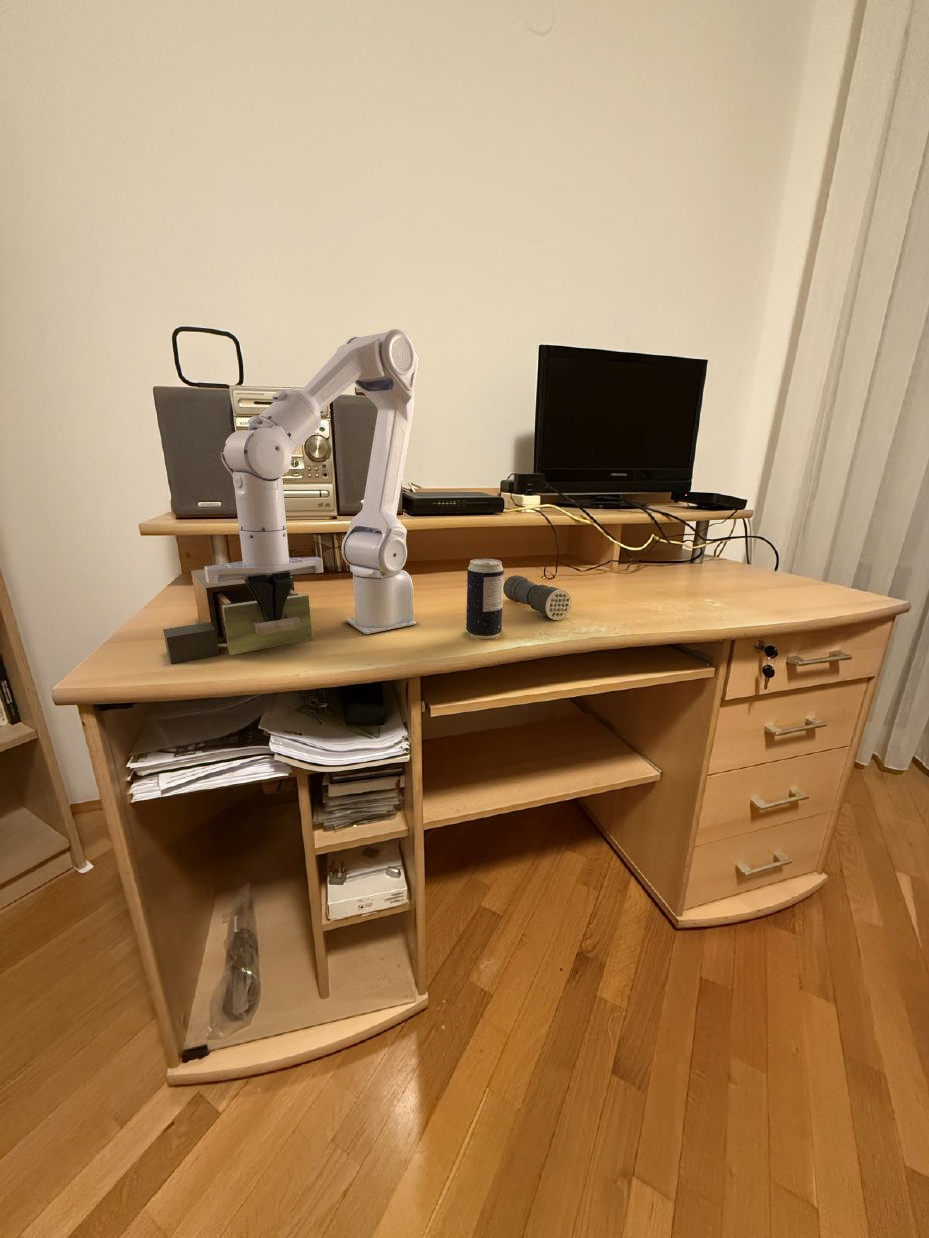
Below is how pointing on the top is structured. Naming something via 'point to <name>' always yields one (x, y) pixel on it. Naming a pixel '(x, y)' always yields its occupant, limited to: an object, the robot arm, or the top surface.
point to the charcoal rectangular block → (191, 642)
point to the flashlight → (538, 597)
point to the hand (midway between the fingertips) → (272, 628)
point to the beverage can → (484, 598)
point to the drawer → (260, 621)
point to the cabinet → (206, 597)
